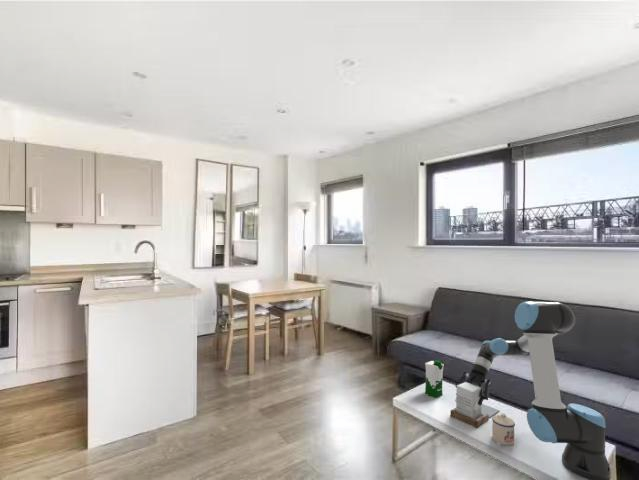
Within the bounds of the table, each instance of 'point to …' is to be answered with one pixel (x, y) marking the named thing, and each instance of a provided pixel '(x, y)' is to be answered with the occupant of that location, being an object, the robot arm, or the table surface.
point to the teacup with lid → (503, 429)
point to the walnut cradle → (469, 419)
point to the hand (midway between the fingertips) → (465, 406)
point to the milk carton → (434, 378)
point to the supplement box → (468, 400)
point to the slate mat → (488, 410)
